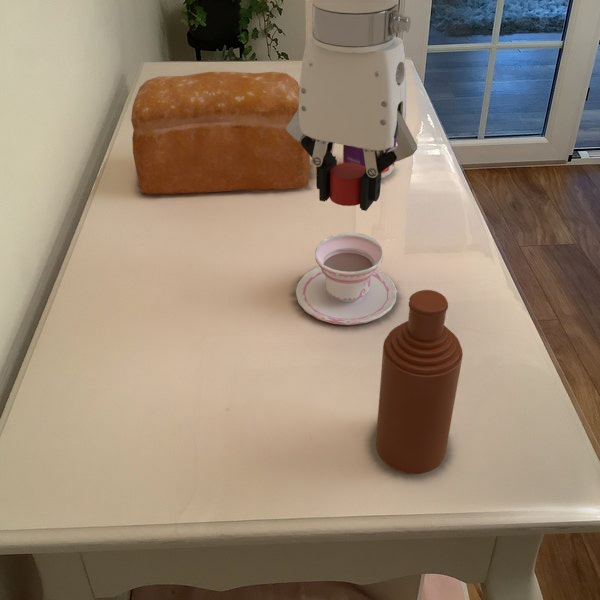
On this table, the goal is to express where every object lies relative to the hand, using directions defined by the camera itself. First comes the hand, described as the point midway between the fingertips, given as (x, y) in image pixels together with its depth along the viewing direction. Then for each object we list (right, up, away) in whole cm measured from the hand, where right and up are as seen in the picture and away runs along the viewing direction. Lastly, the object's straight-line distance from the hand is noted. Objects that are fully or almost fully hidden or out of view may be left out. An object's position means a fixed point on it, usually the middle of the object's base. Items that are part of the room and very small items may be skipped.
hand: (347, 198), depth 73 cm
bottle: (+5, -24, -10) cm, 27 cm away
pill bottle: (+6, +9, +33) cm, 35 cm away
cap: (0, 0, 0) cm, 0 cm away
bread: (-17, +9, +33) cm, 38 cm away
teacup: (0, -10, +8) cm, 13 cm away
